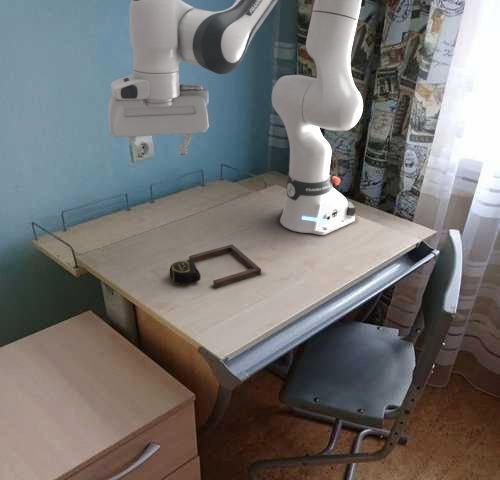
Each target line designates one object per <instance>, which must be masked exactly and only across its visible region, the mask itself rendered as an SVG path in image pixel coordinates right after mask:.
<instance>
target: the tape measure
mask: <svg viewBox="0 0 500 480" xmlns="http://www.w3.org/2000/svg"><path fill="white" fill-rule="evenodd" d="M195 263H196V262H193V260H189V259H188V260H178V261H175V262H174V263H172V264H171V265H170V267H169V278H170V279H171V281H172V282H173V283H174V284H177V285H189V284H192V283H196V282H199V281H201V272H200V271H199V269H198V268H197V265H196V264H195Z"/></svg>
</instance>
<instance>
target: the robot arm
mask: <svg viewBox="0 0 500 480" xmlns="http://www.w3.org/2000/svg"><path fill="white" fill-rule="evenodd" d="M278 1H279V0H235V2H234V3H233V4H232V5H231V6H230V7H228V8H226V9H224V10H223V9H222V10H220V11H219V10H218V11H210V10H204V9H200V8H197V7H194V6H192V5H190V4H188V3H186V2H185V1H183V0H130V3H129V11H128V13H129V15H128V17H129V19H128V20H129V21H128V23H129V26H128V27H129V39H130V41H129V42H130V46H131V49H132V52H133V62H132V74H129V75H127V76H124V77H120V78H118V79H115V80H113V81H112V82H111V83H110V90H111V94H112V96H111V97H110V98H109V101H108V108H107V123H108V124H107V125H108V131H109V133H110V135H111V136H112V137H114V138H127V140H128V143H129V144H130V145H131V147H132V149H133V153H134V154H133V155H134V157H135V159H138V158H143V157H144V155H143V148H142V146H137V144H136V143H135V142H137V139H136V137H151V136H152V137H153V136H166V135H167V136H169V135H170V136H171V135H183V137H184V139H183V141H182V143H181V144H178V153H179V155H180V156H186V155H188V147H189V145H190V143H191V141H192V139H193V134H203V133H206V132H207V131H208V129H209V127H210V124H209V114H208V108H207V106H208V104H209V100H210V99H209V98H210V96H209V90H208V89H207V88H206V87H205V86H203V85H202V84H200V83H199V84H198V83H196V84H180V63H181V62H185V63H188V64H191V65H193V66H197V67H201V68H203V69H206V70H208V71H211V72H212V73H214V74H218V75H227V74H229V73H231V72H233V71H234V70H235V69H237V67H238V66H239V65H240V64H241V63H242V62H243V59H244V58H245V55H246V54H247V51H248V49H249V46H250V43H251V42H252V40H253V38H254V36H255V35H256V33H257V31H259V29H260V27H261V26H262V24H263V23H264V21H265V20H266V19H267V17H268V16H269V14H270V13H271V11H272V10H273V8H274V7H275V5H276V4H277V3H278ZM312 6H313V7H312V11H311V17H310V21H309V26H308V31H307V36H306V41H305V49H306V52H307V54H308V55H309V57H310V58H311V59H312V60H313V61H314V64H315V68H316V77H312V76H307V75H303V74H290V75H284V76H281V77H280V78H278V79H277V81H276V82H275V84H274V86H273V88H272V92H271V105H272V108H273V109H274V111H275V112H276V113H277V115H278V116H279V117H280V119H281V122H282V123H283V125H284V129H285V132H286V135H287V140H288V145H289V166H288V167H289V168H288V169H289V170H288V173H287V176H286V184H285V185H286V197H285V203H284V206H283V210H282V213H281V216H280V218H279V222H280V224H281V225H282V226H283V227H284V228H286V229H288V230H290V231H292V232H297V233H303V234H314V235H318V236H325V235H328V234H330V233H332V232H334V231H336V230H338V229H341V228H343V227H345V226H347V225H350V224H351V223H354V222H356V216H355V214H356V211H357V209H356V207H355V206H354V204H353V203H352V202H351V201H350V200H347V198H346V197H345V196H344V195H343V194H342V193H341V192H340V191H338V190H337V189H336V188H334V186H333V184H334V185H335V186H339V184H340V183H341V178H340V177H338V176H336V175H333V176H332V174H330V169H331V160H332V147H331V145H330V142H328V141H327V139H326V138H325V137H324V136H323V133H322V132H321V129H325V130H328V131H338V132H339V131H340V132H341V131H344V132H345V131H346V132H347V131H349V130H351V129H353V128H354V127H355V126H356V125H357V124H358V122H359V121H360V119H361V117H362V114H363V110H364V109H363V108H364V102H363V97H362V95H361V93H360V91H359V90H358V88H357V87H356V85H355V82H354V79H353V75H352V69H351V55H352V48H353V43H354V38H355V34H356V29H357V25H358V20H359V16H360V13H361V12H360V11H361V6H362V0H314V3H313V5H312ZM320 128H321V129H320Z"/></svg>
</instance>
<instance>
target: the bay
mask: <svg viewBox="0 0 500 480" xmlns="http://www.w3.org/2000/svg"><path fill="white" fill-rule="evenodd" d="M229 253H230V254H232V255H233V256H234V257H235V258H236V259H237V260H238V261H239V262H241V263H242V264H243V265H244V266H245V267H246V268H248V269H247V270H243V271H239V272H238V273H234V274H230V275H227V276H224V277H219V278H216V279H214V280H213V281H212V282H213V285H212V286H213V287H214V288H215V289H218V288H221V287H224V286H228V285H231V284H234V283H237V282H242V281H244V280H247V279H248V280H249V279H251V278H254V277H257V276H262V268H261V267H259V266H258V264H256V263H255V262H254V261H252V260H251V259H250V258H249V257H248V256H247V255H246V254H244V253H243V252H242V251H241V250H240V249H238V248H237V247H236V246H235V245H234V244H231V243H230V244H228V245H224V246H220V247H217V248H213V249H210V250H205V251H202V252H199V253H195V254H191V255H188V260H193V262H195V263H197V262H201V261H205V260H208V259H212V258H215V257H219V256H222V255H226V254H229Z"/></svg>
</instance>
